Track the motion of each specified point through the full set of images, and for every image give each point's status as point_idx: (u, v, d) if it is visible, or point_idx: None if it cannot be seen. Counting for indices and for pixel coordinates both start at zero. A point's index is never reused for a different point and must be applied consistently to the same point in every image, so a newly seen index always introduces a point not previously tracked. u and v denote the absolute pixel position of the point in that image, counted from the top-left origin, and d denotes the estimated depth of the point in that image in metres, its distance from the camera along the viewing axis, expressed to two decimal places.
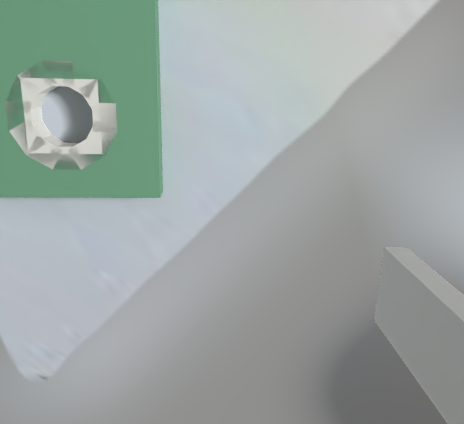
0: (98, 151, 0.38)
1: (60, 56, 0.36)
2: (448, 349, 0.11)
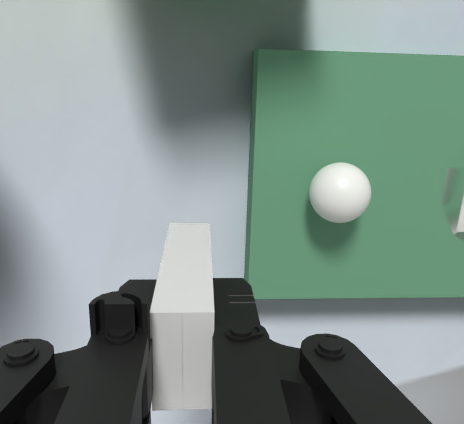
0: None
1: (440, 182, 0.28)
2: None
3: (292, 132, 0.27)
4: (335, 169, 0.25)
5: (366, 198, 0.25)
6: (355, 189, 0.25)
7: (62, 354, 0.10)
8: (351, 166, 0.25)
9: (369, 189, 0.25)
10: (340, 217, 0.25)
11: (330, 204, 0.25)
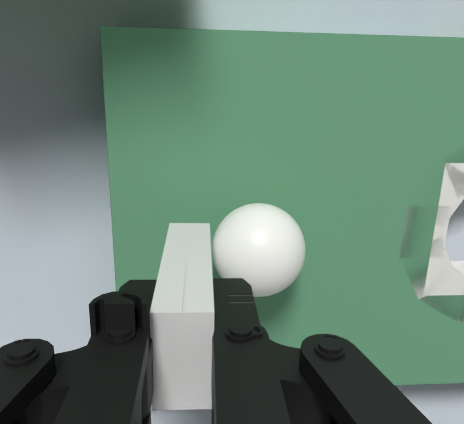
0: None
1: (397, 226, 0.19)
2: None
3: (166, 155, 0.17)
4: (255, 218, 0.16)
5: (303, 256, 0.16)
6: (291, 247, 0.16)
7: (62, 354, 0.10)
8: (275, 210, 0.16)
9: (304, 241, 0.17)
10: (270, 291, 0.16)
11: (257, 276, 0.15)
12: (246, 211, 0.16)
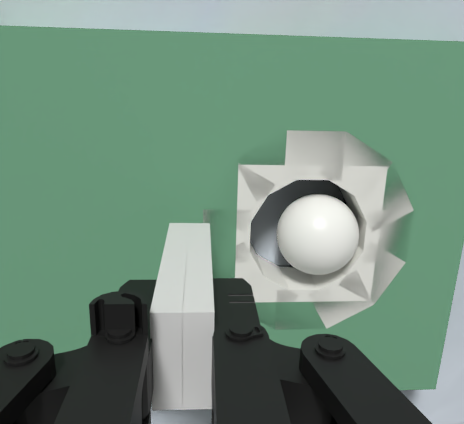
0: (381, 173, 0.18)
1: None
2: None
3: None
4: (334, 205, 0.18)
5: None
6: (356, 222, 0.19)
7: (62, 354, 0.10)
8: (331, 196, 0.19)
9: None
10: None
11: (350, 252, 0.18)
12: (321, 202, 0.18)
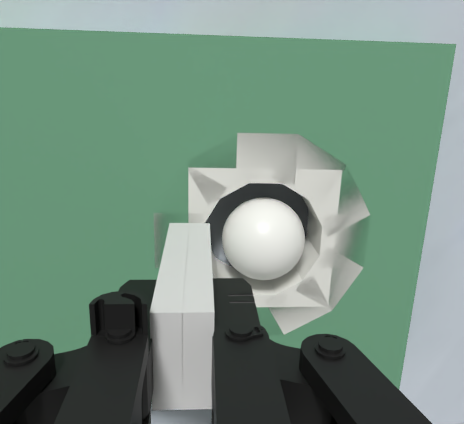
0: (336, 177, 0.18)
1: (147, 234, 0.18)
2: None
3: None
4: (272, 210, 0.18)
5: None
6: (302, 230, 0.19)
7: (62, 354, 0.10)
8: (278, 201, 0.19)
9: None
10: (287, 271, 0.19)
11: (284, 259, 0.18)
12: (260, 205, 0.18)
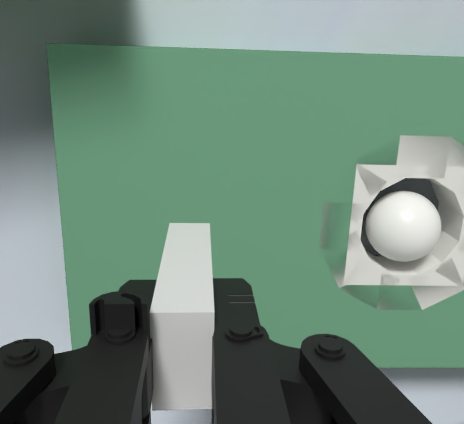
0: None
1: (316, 220, 0.21)
2: None
3: (106, 154, 0.20)
4: (415, 201, 0.21)
5: None
6: (439, 220, 0.21)
7: (62, 354, 0.10)
8: (419, 194, 0.22)
9: None
10: (424, 255, 0.22)
11: (424, 243, 0.21)
12: (403, 197, 0.21)
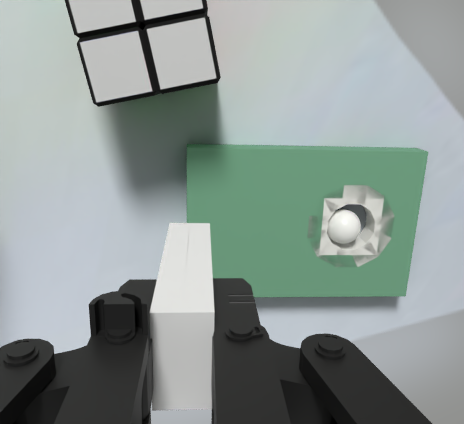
0: (381, 201, 0.45)
1: (305, 224, 0.45)
2: None
3: (209, 195, 0.44)
4: (345, 215, 0.45)
5: (360, 227, 0.46)
6: (358, 224, 0.45)
7: (62, 354, 0.10)
8: (350, 211, 0.46)
9: (359, 222, 0.46)
10: (350, 240, 0.46)
11: (347, 235, 0.45)
12: (341, 212, 0.46)
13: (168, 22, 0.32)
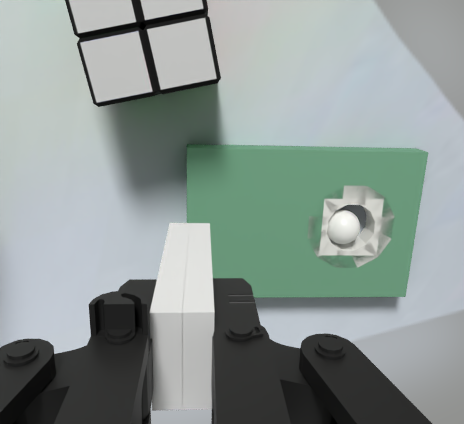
0: (381, 202, 0.45)
1: (305, 224, 0.45)
2: None
3: (210, 195, 0.44)
4: (344, 215, 0.45)
5: (359, 228, 0.46)
6: (357, 225, 0.45)
7: (62, 354, 0.10)
8: (349, 212, 0.46)
9: None
10: (349, 241, 0.46)
11: (346, 235, 0.45)
12: (340, 213, 0.46)
13: (168, 22, 0.32)
